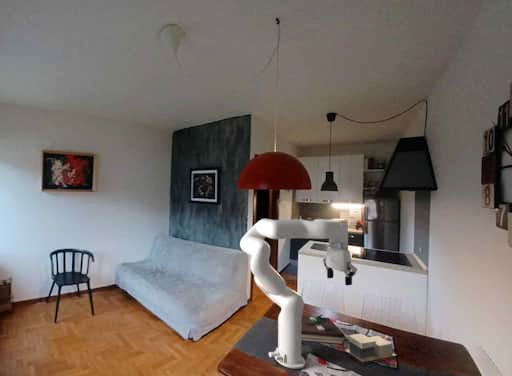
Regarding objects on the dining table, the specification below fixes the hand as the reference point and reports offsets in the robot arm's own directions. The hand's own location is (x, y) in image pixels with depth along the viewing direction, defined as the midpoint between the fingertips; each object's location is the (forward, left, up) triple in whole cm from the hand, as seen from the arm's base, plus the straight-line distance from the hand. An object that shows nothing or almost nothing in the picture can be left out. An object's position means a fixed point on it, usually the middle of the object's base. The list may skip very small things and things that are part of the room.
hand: (339, 281), depth 123 cm
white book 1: (+8, -5, -28) cm, 29 cm away
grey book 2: (+8, -5, -32) cm, 34 cm away
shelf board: (+13, -5, -34) cm, 36 cm away
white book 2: (+18, -5, -30) cm, 35 cm away
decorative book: (-2, +15, -34) cm, 37 cm away
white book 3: (+18, -5, -32) cm, 37 cm away
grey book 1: (+8, -5, -30) cm, 31 cm away
